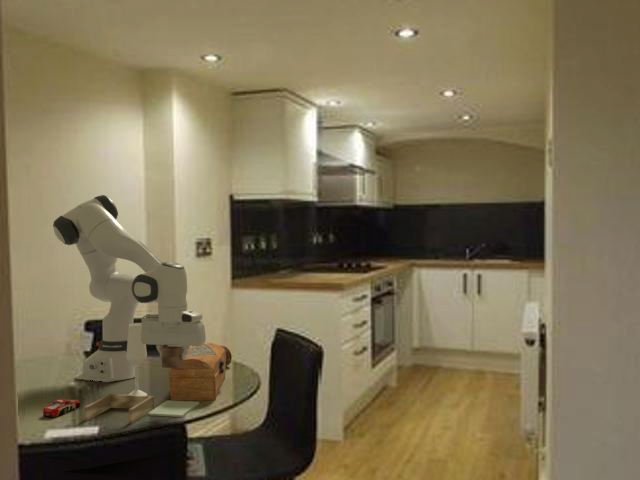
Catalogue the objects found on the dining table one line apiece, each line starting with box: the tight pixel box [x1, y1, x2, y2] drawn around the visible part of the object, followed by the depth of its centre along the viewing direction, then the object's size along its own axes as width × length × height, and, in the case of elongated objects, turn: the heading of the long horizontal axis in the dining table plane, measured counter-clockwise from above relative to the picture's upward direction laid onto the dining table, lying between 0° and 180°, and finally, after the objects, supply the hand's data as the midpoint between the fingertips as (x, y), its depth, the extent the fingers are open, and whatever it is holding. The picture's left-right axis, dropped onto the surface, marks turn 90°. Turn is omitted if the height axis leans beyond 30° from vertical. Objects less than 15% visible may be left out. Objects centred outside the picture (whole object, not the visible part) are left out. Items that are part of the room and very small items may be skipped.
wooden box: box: [168, 342, 227, 401], centre depth 219 cm, size 30×16×14 cm, turn 1°
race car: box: [42, 399, 81, 418], centre depth 192 cm, size 13×5×4 cm, turn 163°
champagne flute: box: [126, 322, 148, 396], centre depth 210 cm, size 7×7×24 cm
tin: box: [218, 344, 233, 367], centre depth 254 cm, size 15×3×8 cm, turn 58°
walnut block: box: [161, 345, 185, 369], centre depth 193 cm, size 5×5×6 cm
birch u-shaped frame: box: [84, 393, 155, 424], centre depth 189 cm, size 15×14×4 cm
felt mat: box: [147, 399, 200, 418], centre depth 194 cm, size 11×14×1 cm
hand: (173, 359), depth 193 cm, fingers closed on walnut block, 5 cm apart
